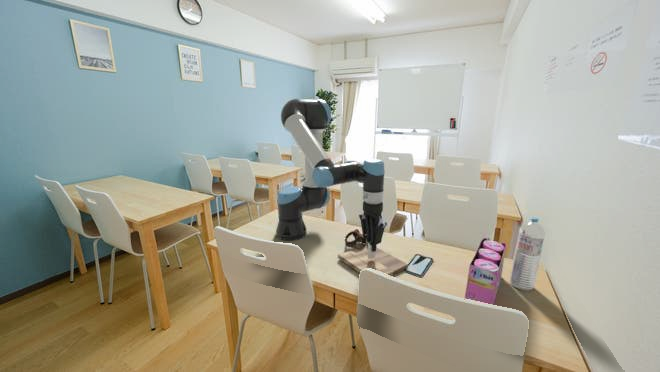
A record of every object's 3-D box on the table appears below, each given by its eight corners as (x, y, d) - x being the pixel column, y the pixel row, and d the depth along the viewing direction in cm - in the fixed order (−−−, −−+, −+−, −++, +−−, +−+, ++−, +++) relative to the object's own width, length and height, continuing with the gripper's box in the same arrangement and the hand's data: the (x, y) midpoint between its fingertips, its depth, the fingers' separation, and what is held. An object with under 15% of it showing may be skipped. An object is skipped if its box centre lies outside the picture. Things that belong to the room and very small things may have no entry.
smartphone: (402, 270, 103) (416, 253, 114) (402, 272, 103) (416, 255, 114) (421, 277, 98) (434, 258, 110) (421, 279, 99) (433, 260, 110)
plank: (337, 257, 111) (338, 254, 111) (356, 252, 117) (356, 248, 116) (374, 282, 94) (374, 278, 94) (393, 275, 100) (393, 271, 100)
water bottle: (505, 280, 97) (517, 215, 90) (522, 278, 97) (536, 214, 91) (519, 292, 90) (533, 223, 83) (538, 291, 91) (554, 222, 84)
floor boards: (356, 252, 117) (356, 249, 116) (369, 246, 121) (369, 243, 121) (393, 275, 100) (393, 271, 100) (407, 267, 105) (407, 264, 104)
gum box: (478, 268, 104) (483, 236, 101) (502, 275, 100) (508, 242, 96) (463, 301, 86) (468, 264, 83) (491, 312, 82) (498, 273, 78)
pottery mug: (369, 252, 118) (361, 239, 114) (350, 259, 120) (342, 246, 117) (367, 234, 128) (360, 222, 125) (350, 240, 131) (342, 229, 127)
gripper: (353, 198, 104) (353, 253, 110) (378, 207, 93) (376, 267, 100) (368, 195, 108) (366, 248, 114) (393, 203, 98) (390, 261, 104)
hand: (371, 257), depth 107 cm, fingers closed
